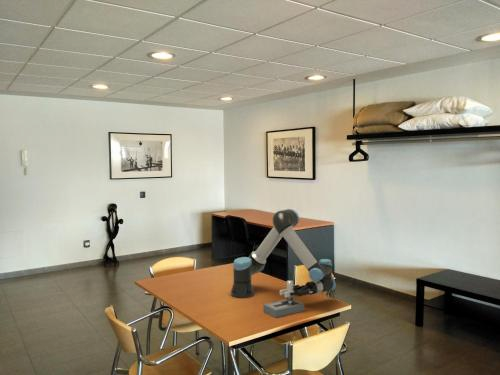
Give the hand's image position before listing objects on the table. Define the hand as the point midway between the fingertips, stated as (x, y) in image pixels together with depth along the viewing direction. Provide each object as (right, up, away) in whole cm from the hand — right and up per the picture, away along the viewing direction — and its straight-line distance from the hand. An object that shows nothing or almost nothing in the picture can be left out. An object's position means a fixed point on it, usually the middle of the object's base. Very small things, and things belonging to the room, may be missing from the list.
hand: (282, 293), depth 227 cm
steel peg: (+5, -9, +3) cm, 11 cm away
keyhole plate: (0, -10, +1) cm, 10 cm away
